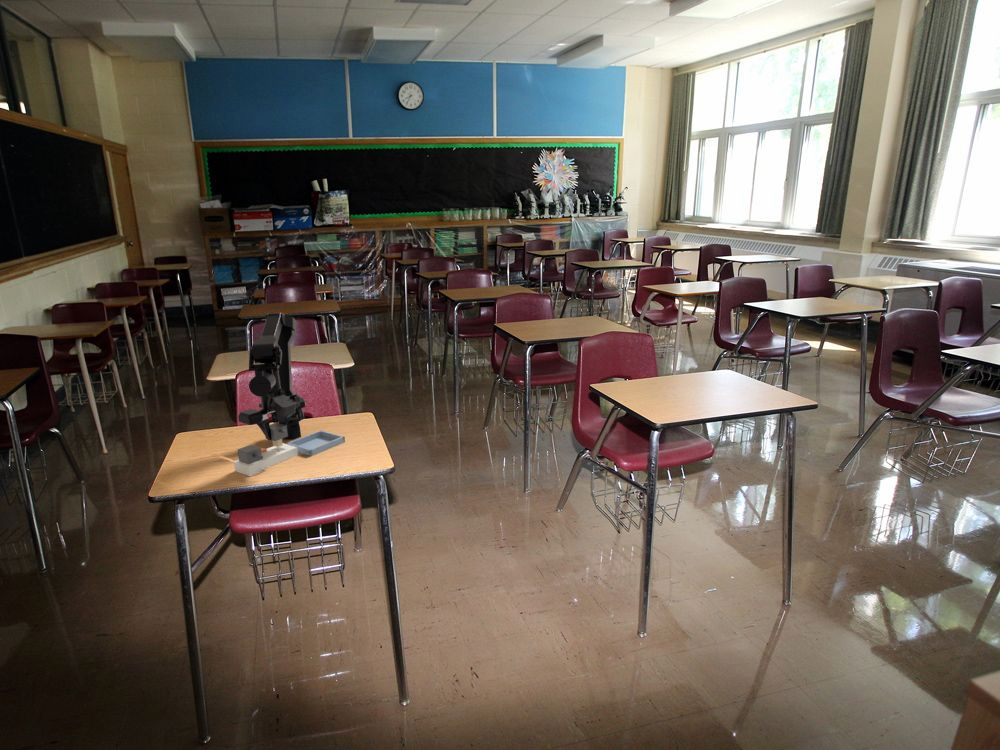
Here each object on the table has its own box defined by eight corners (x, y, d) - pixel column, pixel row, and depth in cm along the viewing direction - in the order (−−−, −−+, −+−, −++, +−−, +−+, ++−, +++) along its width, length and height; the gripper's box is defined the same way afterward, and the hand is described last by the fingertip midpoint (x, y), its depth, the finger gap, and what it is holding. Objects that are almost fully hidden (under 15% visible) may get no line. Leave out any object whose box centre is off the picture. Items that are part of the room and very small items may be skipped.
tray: (287, 450, 189) (286, 443, 188) (321, 437, 199) (321, 430, 198) (311, 457, 183) (310, 450, 182) (345, 443, 193) (344, 436, 192)
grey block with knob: (266, 446, 181) (264, 427, 179) (279, 441, 184) (277, 422, 183) (280, 450, 177) (277, 430, 176) (293, 445, 181) (290, 426, 179)
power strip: (235, 471, 175) (232, 449, 173) (283, 452, 188) (280, 432, 186) (255, 478, 170) (251, 456, 168) (303, 458, 182) (300, 437, 181)
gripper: (257, 399, 165) (265, 454, 169) (314, 382, 179) (320, 432, 184) (233, 393, 171) (241, 446, 175) (290, 376, 186) (296, 426, 190)
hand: (276, 437), depth 181 cm, fingers closed on grey block with knob, 4 cm apart
